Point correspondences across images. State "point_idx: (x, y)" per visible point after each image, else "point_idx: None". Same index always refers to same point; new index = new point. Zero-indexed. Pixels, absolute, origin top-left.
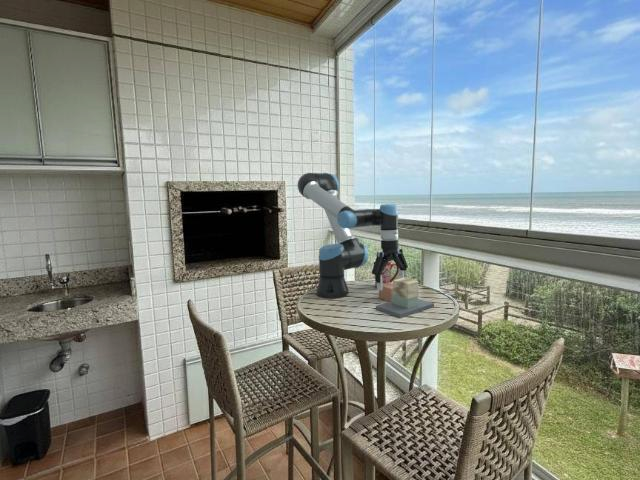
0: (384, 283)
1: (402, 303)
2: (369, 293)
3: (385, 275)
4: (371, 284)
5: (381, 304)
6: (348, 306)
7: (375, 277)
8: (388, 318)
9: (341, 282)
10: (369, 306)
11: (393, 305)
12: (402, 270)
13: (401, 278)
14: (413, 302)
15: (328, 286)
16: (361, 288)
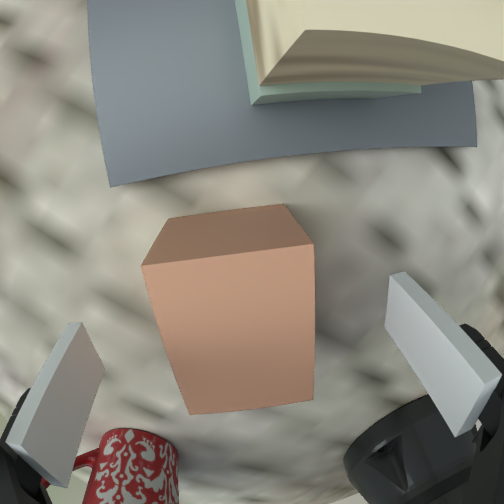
0: (142, 455)
1: None
2: (277, 411)
3: (130, 494)
4: None
5: (442, 141)
6: (501, 271)
7: (178, 502)
8: None
9: (439, 458)
10: (453, 212)
11: None
12: (21, 454)
13: (391, 10)
14: None
15: (474, 435)
16: (253, 467)
